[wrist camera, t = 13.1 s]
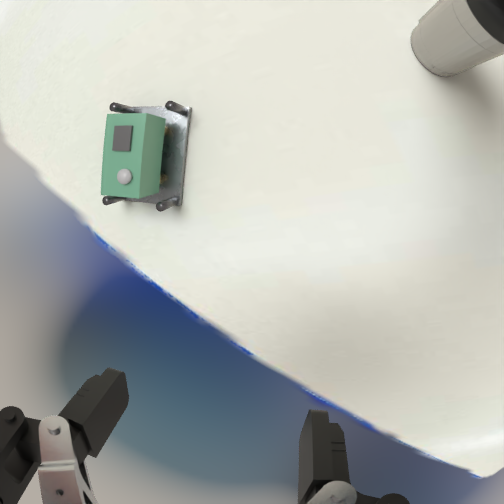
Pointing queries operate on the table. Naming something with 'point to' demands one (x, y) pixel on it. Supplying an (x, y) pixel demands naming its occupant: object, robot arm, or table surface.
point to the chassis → (165, 154)
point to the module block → (132, 155)
